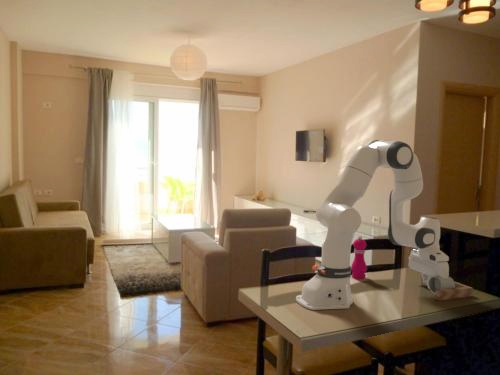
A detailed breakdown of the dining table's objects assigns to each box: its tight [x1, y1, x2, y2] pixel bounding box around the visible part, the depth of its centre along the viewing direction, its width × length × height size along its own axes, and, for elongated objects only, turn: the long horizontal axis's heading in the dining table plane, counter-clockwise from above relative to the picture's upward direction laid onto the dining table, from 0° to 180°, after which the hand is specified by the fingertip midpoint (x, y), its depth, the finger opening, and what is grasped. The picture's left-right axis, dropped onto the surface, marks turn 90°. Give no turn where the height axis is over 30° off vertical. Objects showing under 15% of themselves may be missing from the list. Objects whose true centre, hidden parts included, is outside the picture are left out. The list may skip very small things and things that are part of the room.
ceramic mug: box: [427, 276, 456, 295], centre depth 174 cm, size 11×8×8 cm
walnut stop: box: [434, 280, 474, 301], centre depth 173 cm, size 18×12×4 cm, turn 110°
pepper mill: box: [350, 235, 368, 280], centre depth 194 cm, size 7×7×20 cm
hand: (426, 284), depth 181 cm, fingers closed
